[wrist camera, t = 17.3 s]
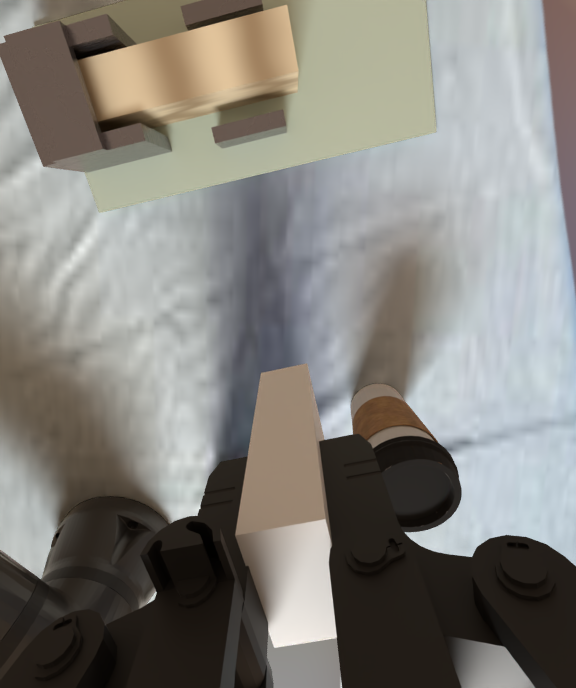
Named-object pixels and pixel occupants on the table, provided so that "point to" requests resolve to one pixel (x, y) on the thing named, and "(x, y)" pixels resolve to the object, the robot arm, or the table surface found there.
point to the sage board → (289, 96)
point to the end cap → (71, 96)
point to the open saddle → (215, 7)
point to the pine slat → (194, 72)
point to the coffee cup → (407, 458)
